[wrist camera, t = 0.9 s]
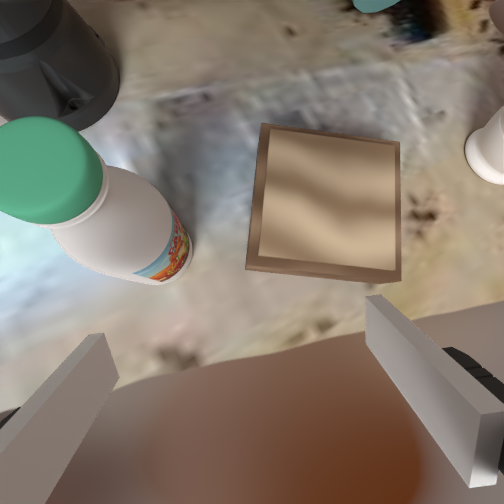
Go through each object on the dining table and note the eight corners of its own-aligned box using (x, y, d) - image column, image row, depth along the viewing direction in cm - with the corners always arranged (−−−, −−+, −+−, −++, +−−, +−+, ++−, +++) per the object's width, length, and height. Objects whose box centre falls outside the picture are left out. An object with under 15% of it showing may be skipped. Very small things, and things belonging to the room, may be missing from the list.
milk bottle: (144, 298, 29) (-31, 291, 10) (112, 240, 30) (-106, 127, 11) (205, 263, 31) (158, 193, 11) (173, 208, 32) (76, 53, 12)
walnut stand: (258, 145, 34) (262, 119, 29) (379, 161, 35) (403, 138, 30) (245, 269, 31) (247, 263, 26) (378, 284, 32) (405, 280, 27)
